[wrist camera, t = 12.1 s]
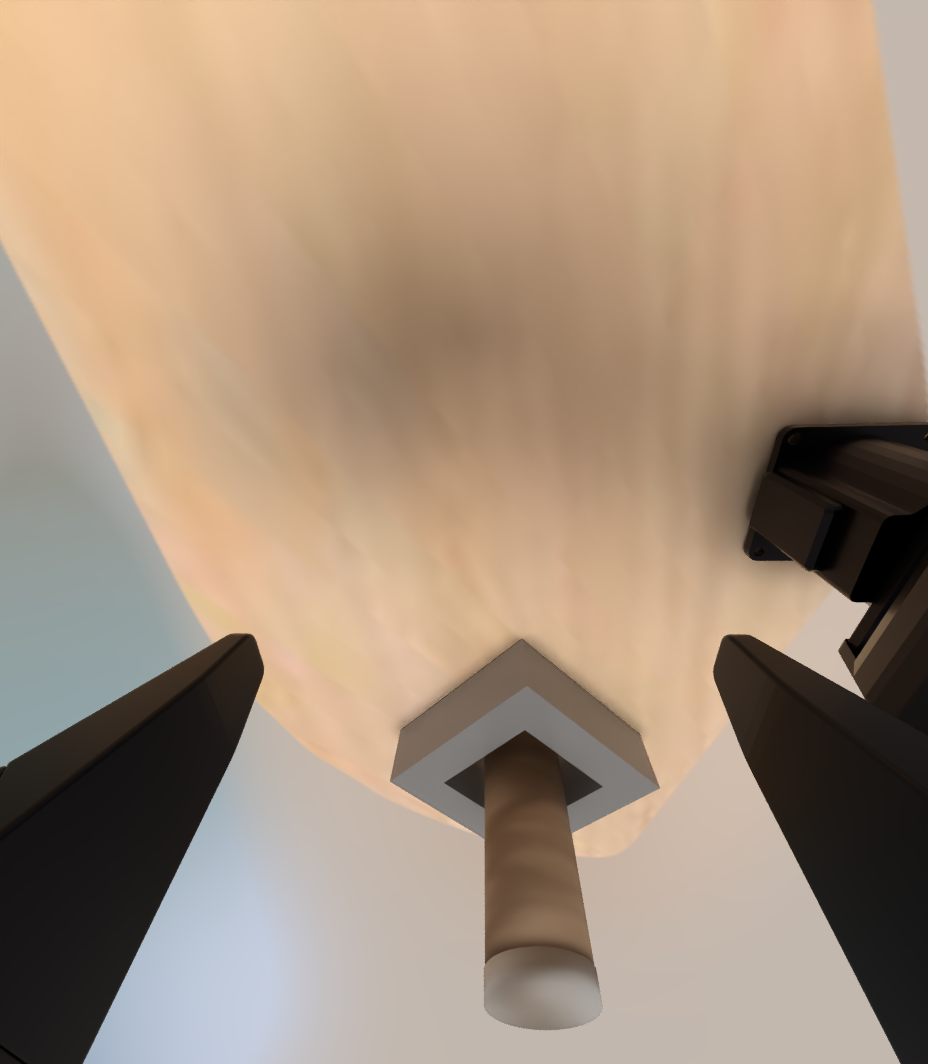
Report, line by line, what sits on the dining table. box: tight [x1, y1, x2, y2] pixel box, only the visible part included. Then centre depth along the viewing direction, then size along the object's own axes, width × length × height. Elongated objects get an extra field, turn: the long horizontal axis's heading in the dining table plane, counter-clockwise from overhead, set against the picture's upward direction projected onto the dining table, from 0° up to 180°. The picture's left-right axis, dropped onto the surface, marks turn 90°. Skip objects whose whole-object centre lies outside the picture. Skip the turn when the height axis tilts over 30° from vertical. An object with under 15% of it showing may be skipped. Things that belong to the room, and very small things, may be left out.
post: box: [484, 730, 603, 1030], centre depth 22 cm, size 5×5×12 cm
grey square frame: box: [390, 639, 660, 839], centre depth 26 cm, size 11×11×4 cm
